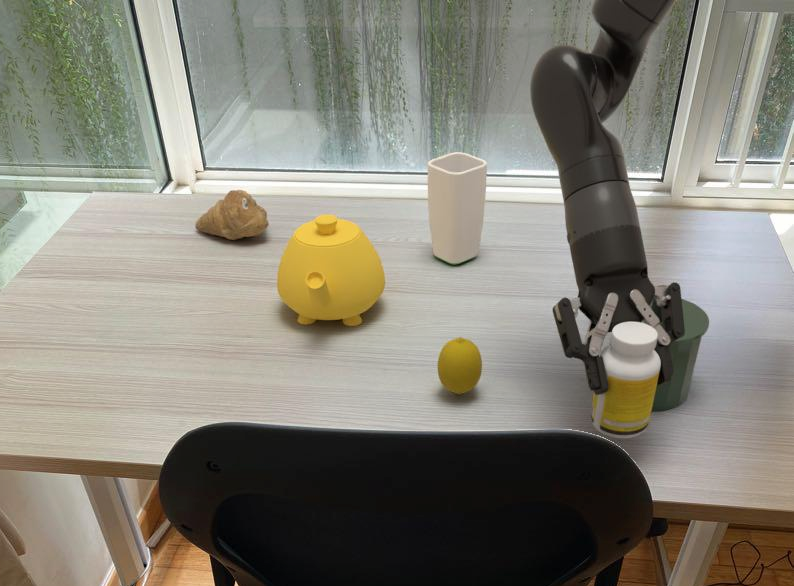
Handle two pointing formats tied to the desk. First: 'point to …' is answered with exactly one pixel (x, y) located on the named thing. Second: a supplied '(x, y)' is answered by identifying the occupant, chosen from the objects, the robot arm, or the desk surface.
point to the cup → (456, 205)
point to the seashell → (234, 217)
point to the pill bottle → (627, 381)
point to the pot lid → (687, 321)
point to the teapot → (330, 272)
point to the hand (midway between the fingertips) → (633, 387)
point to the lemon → (459, 365)
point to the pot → (677, 376)
